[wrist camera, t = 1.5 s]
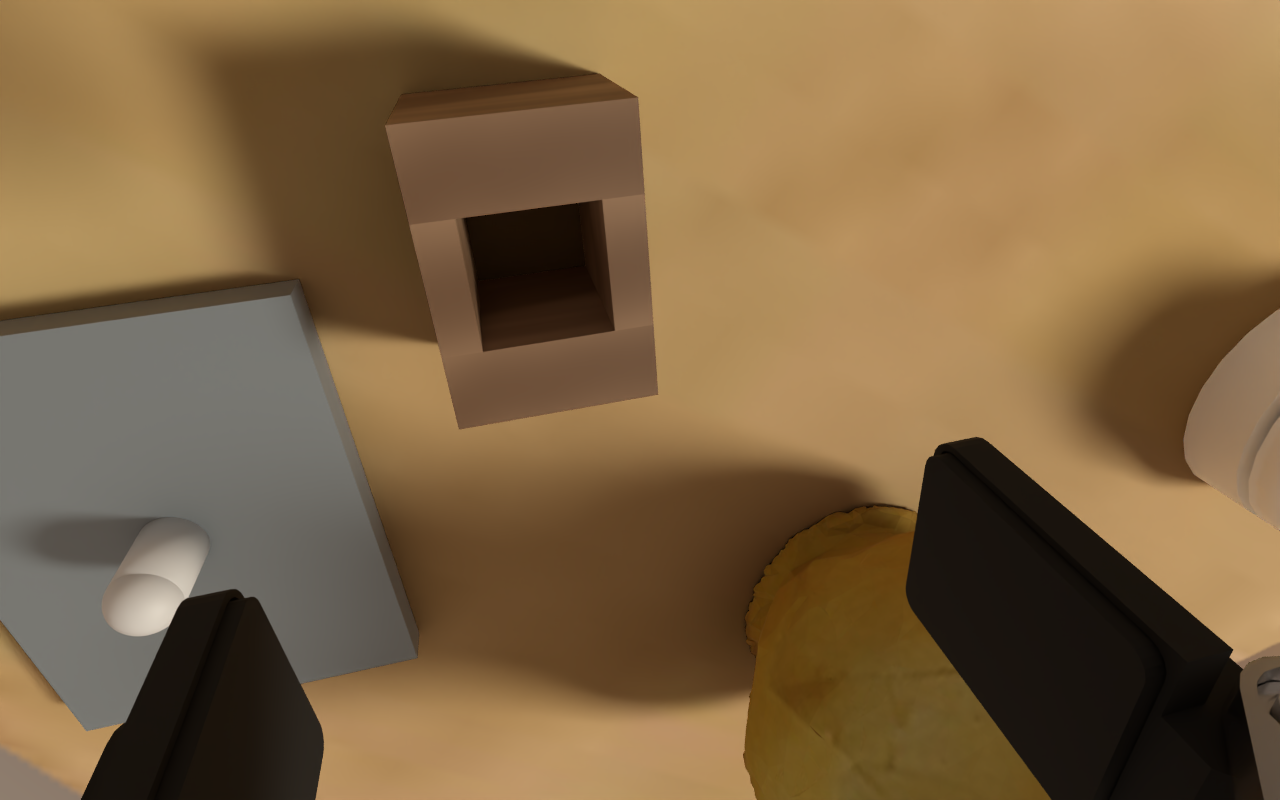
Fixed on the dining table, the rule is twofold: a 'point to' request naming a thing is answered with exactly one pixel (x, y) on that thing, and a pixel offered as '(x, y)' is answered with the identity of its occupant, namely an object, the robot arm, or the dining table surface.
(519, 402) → the block
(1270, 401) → the honey pot
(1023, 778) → the pitcher
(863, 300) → the dining table surface
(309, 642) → the base plate
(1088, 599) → the robot arm
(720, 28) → the dining table surface
